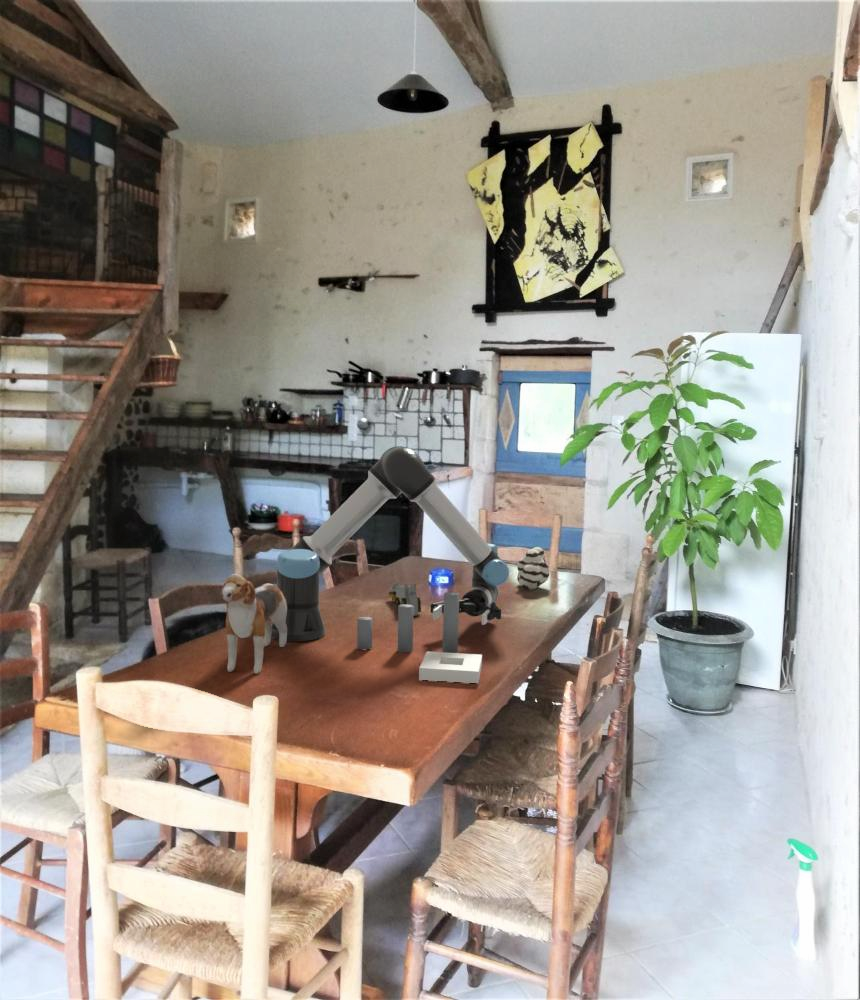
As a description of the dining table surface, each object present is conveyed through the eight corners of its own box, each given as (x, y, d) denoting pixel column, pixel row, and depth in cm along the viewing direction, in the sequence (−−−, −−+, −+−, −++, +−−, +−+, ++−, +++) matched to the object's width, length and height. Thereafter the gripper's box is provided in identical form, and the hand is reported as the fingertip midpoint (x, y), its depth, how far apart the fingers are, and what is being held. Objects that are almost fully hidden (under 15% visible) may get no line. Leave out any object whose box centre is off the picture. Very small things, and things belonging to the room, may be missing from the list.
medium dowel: (396, 652, 213) (397, 607, 212) (398, 647, 217) (399, 604, 216) (411, 653, 212) (412, 608, 211) (413, 648, 216) (414, 604, 215)
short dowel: (355, 649, 214) (356, 620, 213) (358, 645, 218) (359, 616, 217) (370, 650, 214) (370, 620, 213) (373, 646, 218) (373, 617, 217)
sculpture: (519, 582, 312) (520, 543, 310) (551, 584, 309) (553, 545, 307) (511, 593, 290) (513, 552, 289) (546, 596, 287) (548, 554, 286)
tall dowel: (441, 654, 211) (443, 594, 210) (443, 650, 215) (444, 591, 214) (456, 655, 211) (458, 595, 209) (458, 651, 215) (459, 592, 213)
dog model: (204, 687, 182) (204, 577, 179) (265, 639, 222) (266, 549, 219) (244, 690, 180) (245, 579, 178) (299, 641, 221) (300, 551, 218)
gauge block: (419, 680, 190) (419, 667, 190) (426, 662, 204) (426, 651, 204) (478, 684, 188) (478, 671, 188) (481, 666, 202) (482, 654, 202)
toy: (404, 615, 251) (404, 583, 252) (388, 613, 274) (387, 583, 275) (421, 615, 253) (421, 583, 254) (403, 612, 275) (403, 583, 276)
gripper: (517, 617, 235) (503, 635, 214) (435, 610, 242) (414, 626, 221) (518, 592, 234) (504, 608, 214) (436, 585, 241) (414, 599, 221)
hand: (458, 617), depth 217 cm, fingers open, 13 cm apart
